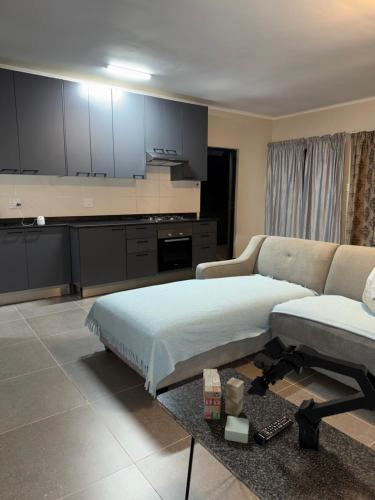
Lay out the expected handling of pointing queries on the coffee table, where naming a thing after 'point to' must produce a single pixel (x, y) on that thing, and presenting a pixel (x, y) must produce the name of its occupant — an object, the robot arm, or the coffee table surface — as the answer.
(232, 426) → the sage base block
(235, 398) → the maple pillar
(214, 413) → the stack of blocks
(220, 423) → the coffee table surface
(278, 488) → the coffee table surface
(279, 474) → the coffee table surface
